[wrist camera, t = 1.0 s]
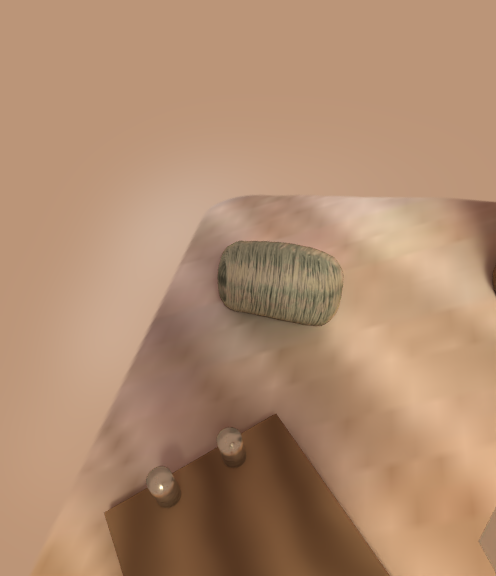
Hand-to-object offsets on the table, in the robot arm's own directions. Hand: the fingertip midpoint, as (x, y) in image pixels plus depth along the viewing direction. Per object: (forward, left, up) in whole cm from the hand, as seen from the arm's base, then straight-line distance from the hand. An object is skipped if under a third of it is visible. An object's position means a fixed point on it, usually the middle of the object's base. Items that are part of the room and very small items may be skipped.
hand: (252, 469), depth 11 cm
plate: (+1, -7, -27) cm, 28 cm away
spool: (-15, -27, -27) cm, 41 cm away
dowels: (+1, -13, -26) cm, 29 cm away
